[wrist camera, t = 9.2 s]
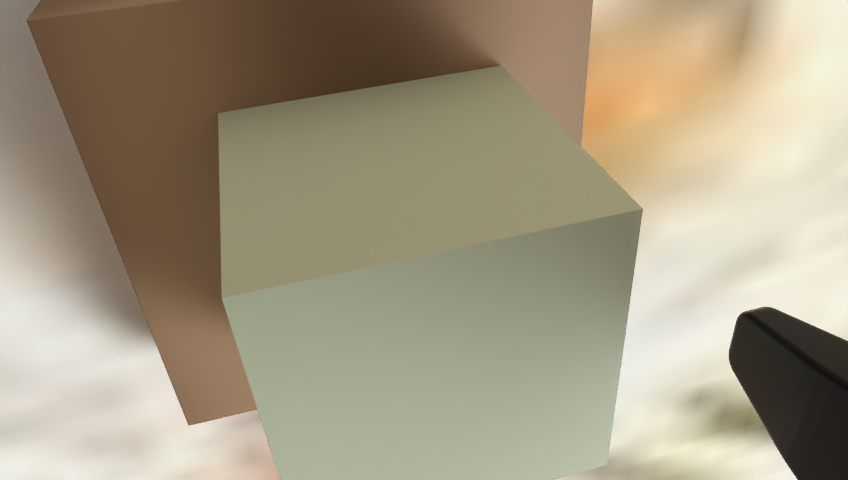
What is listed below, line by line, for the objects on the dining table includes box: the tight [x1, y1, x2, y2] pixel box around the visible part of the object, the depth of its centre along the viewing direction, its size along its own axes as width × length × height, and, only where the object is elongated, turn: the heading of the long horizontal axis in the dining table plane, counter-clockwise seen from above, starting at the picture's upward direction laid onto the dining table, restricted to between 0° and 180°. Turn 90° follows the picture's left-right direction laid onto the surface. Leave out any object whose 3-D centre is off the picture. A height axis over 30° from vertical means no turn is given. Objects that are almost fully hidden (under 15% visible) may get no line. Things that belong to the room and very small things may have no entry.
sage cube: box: [218, 65, 643, 480], centre depth 11 cm, size 5×5×5 cm
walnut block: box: [27, 0, 593, 425], centre depth 14 cm, size 9×9×3 cm
